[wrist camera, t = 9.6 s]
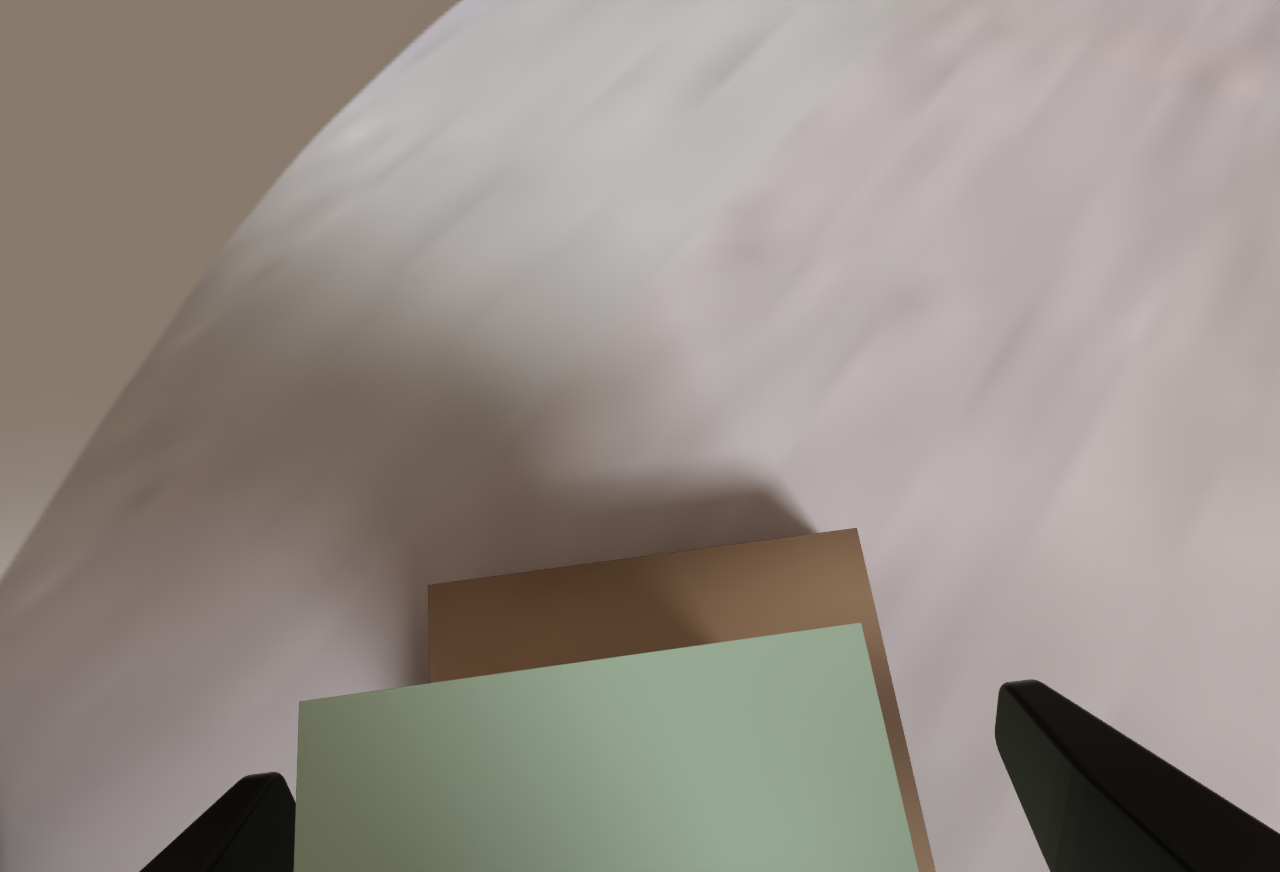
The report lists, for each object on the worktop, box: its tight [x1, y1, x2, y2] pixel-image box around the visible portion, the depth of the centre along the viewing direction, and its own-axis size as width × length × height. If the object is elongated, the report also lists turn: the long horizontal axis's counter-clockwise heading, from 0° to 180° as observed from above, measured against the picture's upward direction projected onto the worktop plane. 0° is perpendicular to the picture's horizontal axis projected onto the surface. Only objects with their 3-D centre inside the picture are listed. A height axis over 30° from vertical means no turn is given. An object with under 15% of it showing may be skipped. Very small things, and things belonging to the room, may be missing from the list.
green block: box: [294, 623, 919, 872], centre depth 11 cm, size 4×4×12 cm
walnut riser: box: [428, 528, 936, 872], centre depth 18 cm, size 11×11×4 cm
